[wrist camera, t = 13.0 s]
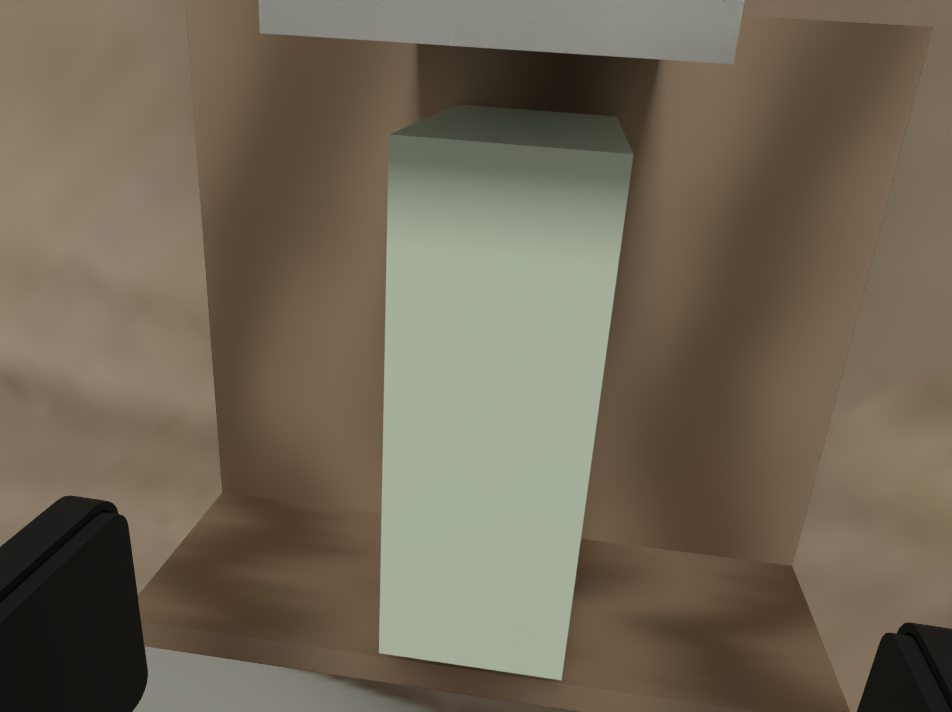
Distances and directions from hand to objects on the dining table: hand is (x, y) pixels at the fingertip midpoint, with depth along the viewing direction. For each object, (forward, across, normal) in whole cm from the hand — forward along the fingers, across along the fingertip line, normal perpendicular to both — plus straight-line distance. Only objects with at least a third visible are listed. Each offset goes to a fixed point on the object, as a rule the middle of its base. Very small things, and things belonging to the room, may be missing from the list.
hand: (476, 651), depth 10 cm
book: (+13, +1, 0) cm, 13 cm away
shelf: (+14, +1, 0) cm, 14 cm away
